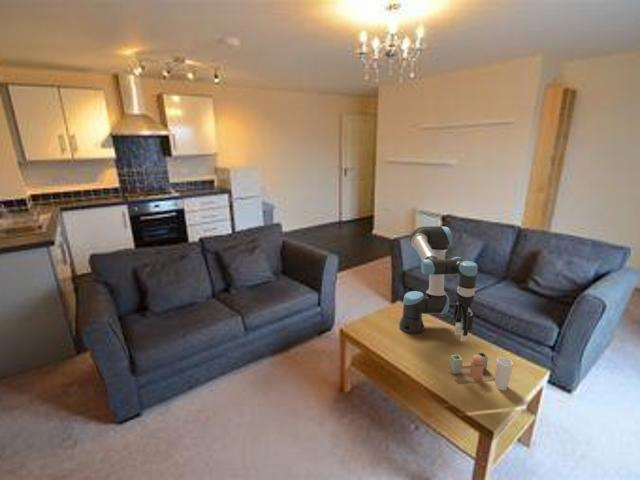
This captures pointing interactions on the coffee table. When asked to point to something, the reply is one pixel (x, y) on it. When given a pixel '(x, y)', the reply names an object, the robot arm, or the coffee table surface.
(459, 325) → the sage ball
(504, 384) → the drinking glass
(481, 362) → the terracotta ball
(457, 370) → the sage tube
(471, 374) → the terracotta tube
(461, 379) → the board
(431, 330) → the coffee table surface
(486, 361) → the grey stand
